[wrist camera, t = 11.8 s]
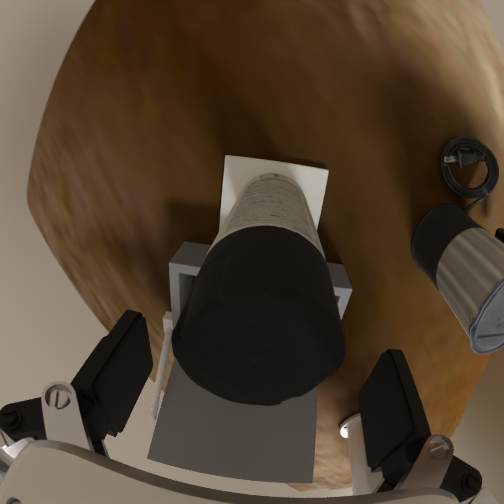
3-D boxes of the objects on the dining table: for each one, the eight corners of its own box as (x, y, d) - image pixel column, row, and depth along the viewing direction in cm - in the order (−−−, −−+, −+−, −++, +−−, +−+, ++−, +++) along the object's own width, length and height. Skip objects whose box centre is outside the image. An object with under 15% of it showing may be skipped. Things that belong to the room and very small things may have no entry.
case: (343, 264, 30) (389, 408, 13) (307, 368, 38) (310, 484, 22) (173, 239, 31) (83, 360, 14) (179, 349, 39) (137, 457, 22)
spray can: (225, 204, 28) (137, 354, 10) (272, 156, 25) (251, 244, 7) (273, 247, 29) (258, 424, 12) (320, 203, 27) (383, 361, 9)
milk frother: (419, 285, 30) (470, 371, 17) (377, 174, 25) (456, 228, 12) (497, 235, 26) (563, 294, 13) (470, 123, 21) (566, 145, 8)
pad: (327, 169, 26) (328, 170, 25) (312, 243, 29) (313, 245, 29) (226, 155, 26) (225, 155, 26) (220, 229, 30) (219, 231, 29)
